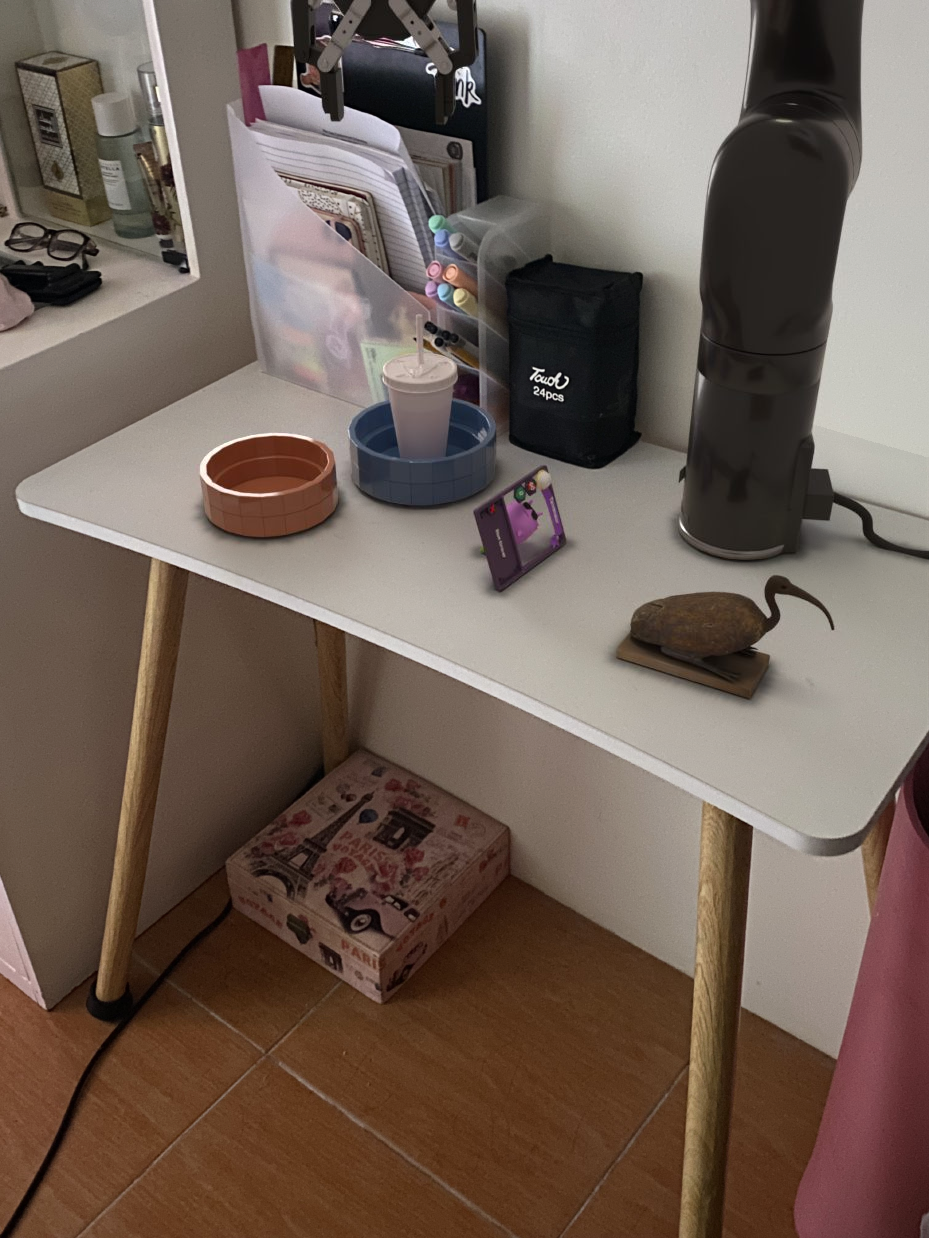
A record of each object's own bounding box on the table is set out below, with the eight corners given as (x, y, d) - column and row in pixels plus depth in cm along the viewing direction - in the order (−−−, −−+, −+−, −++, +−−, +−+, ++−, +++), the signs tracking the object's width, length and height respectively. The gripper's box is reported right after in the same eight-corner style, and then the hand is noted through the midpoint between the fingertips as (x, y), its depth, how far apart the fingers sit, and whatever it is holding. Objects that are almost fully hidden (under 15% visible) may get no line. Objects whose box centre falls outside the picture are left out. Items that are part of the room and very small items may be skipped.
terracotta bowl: (349, 476, 108) (346, 436, 106) (321, 543, 99) (318, 500, 97) (227, 470, 110) (221, 429, 107) (188, 535, 100) (181, 492, 98)
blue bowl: (502, 443, 113) (503, 398, 111) (486, 513, 103) (487, 466, 100) (366, 436, 115) (364, 392, 112) (337, 505, 104) (334, 458, 102)
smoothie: (462, 453, 111) (460, 304, 103) (455, 488, 106) (452, 334, 97) (392, 450, 111) (385, 302, 103) (382, 485, 106) (373, 332, 98)
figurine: (829, 681, 84) (851, 576, 79) (810, 719, 81) (832, 611, 76) (639, 625, 90) (648, 523, 84) (615, 658, 86) (622, 554, 81)
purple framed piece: (483, 510, 90) (553, 464, 96) (433, 510, 94) (503, 465, 99) (507, 591, 93) (574, 542, 98) (457, 588, 96) (524, 540, 102)
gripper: (271, -108, 87) (292, 131, 96) (470, -108, 85) (471, 135, 95) (296, -118, 93) (313, 108, 102) (482, -118, 91) (483, 111, 101)
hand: (389, 121), depth 98 cm, fingers open, 8 cm apart
